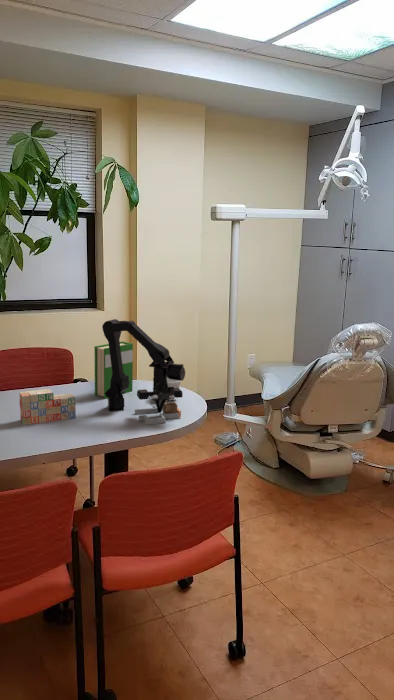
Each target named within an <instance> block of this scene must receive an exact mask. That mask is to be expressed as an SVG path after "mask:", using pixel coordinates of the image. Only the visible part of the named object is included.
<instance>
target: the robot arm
mask: <svg viewBox="0 0 394 700" xmlns="http://www.w3.org/2000/svg"><path fill="white" fill-rule="evenodd" d="M102 332H103V336H104V337H105V339H106V340H107V344H109V351H110V359H111V367H112V377H111V381H110V388H109V389H108V390H107V391H106V392H105V394H106V397H108V399H107V406H106V407H107V409H108V411H109V412H115V411H124V410H125V398H124V393H125V391H126V390H127V389H128V387H129V384H130V382H129V375H125V374H124V372H123V365H122V357H121V350H120V342H121V341H120V338H121V334H122V332H127V333H128V334H130V335H131V336H132V337H133V338H134V340H135V341H137V342H138V343H139V344H140V345H141V346H142V347H143V348H144V349H145V350H146V351H147V353H148V355H149V357H150V358H151V360H152V362H151V363H150V364H148V366H149V368H153V378H152V380H153V381H152V382H153V384H152V391H148V390H147V389H146V388H145V389H138V390H137V392H136V396H137V398H138V399H139V400H148V399H149V398H150V399H151V401H154V404H156V407H157V410H158V414H162V412H161V410H162V408H163V405H164V403H165V402H168V401H167V400H169V396H172V395H174V396H175V399H176V398H177V399H178V398H183V396H184V395H183V391H182V390H181V389H180V388H174V387H168V385H167V384H168V383H167V378H169V379H173V380H180V381H181V382H182V381H184V379H185V377H186V369H185V367H184V364H183V363H175V361H174V359H173V358H172V357H171V355H170V350H169V349H168V348H167V347H165V346H163V345H162V344H160V343H157V342H156V341H154V340H153V339H152V338H151V337H150V336H149V335H148V334H147V333H146V332H145V331H144V330H143V329H141V327H140V326H138V325H137V323H136V321H134V320H119V319H117V318H113V319H110V320H106V321H105V322H104V323H103V324H102ZM125 394H126V393H125Z"/></svg>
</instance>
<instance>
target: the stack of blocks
mask: <svg viewBox="0 0 394 700" xmlns="http://www.w3.org/2000/svg"><path fill="white" fill-rule="evenodd" d="M76 407H77V405H76V396H75V395H74V394H73V393H71V392H70V393H60V394H54V392H53V391H52V390H51V389H50V388H45V389H36V390H28V391H27V390H26V391H19V412H20V414H19V416H20V422H21V423H22V425H23V426H24V425H33V424H34V425H35V424H39V423H41V424H42V423H49V422H54V421H62V420H63V421H64V420H72V419H76V411H77V410H76Z"/></svg>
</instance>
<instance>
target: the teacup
mask: <svg viewBox="0 0 394 700" xmlns="http://www.w3.org/2000/svg"><path fill="white" fill-rule="evenodd" d="M181 382H182V381H180V380H173V379H169V378H167V383H168V384H167V385H168V387H174V388H179V389H180V386H181ZM174 399H175V400H176V397H175V396H174V395H172V396H169V400H173V401H175V400H174Z"/></svg>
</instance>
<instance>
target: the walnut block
mask: <svg viewBox="0 0 394 700" xmlns="http://www.w3.org/2000/svg"><path fill="white" fill-rule="evenodd" d="M177 407H178V404H177V403H176V402H175V401H166V402H165V403H164V405H163V412H162V414H168V413H177Z"/></svg>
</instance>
